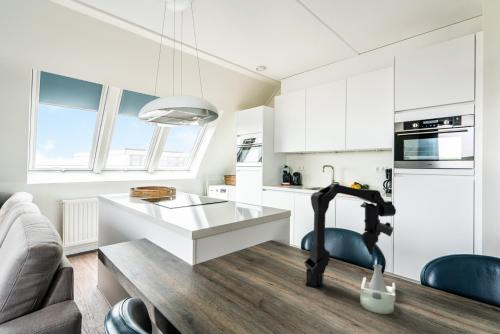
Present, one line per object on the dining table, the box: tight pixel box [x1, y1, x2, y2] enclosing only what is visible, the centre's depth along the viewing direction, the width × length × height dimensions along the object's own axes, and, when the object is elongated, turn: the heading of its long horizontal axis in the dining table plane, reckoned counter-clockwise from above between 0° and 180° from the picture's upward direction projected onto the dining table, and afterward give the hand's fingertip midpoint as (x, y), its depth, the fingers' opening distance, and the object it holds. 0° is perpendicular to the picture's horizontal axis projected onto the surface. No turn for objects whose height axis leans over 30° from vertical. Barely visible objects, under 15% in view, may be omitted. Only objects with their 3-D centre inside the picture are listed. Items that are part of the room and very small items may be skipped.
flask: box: [368, 264, 387, 293], centre depth 104 cm, size 7×7×10 cm
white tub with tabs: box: [359, 276, 396, 315], centre depth 100 cm, size 12×23×4 cm, turn 151°
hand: (372, 251), depth 116 cm, fingers open, 9 cm apart
